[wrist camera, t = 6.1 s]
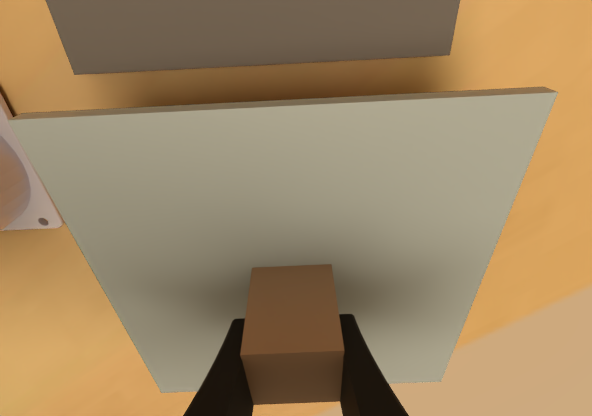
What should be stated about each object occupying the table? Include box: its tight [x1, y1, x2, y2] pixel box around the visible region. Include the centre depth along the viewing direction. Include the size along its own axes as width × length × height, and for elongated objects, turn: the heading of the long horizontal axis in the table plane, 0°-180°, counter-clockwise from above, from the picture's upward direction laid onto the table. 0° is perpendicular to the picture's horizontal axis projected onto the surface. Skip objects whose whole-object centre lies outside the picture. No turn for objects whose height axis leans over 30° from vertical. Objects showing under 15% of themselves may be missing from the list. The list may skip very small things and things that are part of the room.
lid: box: [7, 87, 558, 405], centre depth 12 cm, size 15×15×4 cm
